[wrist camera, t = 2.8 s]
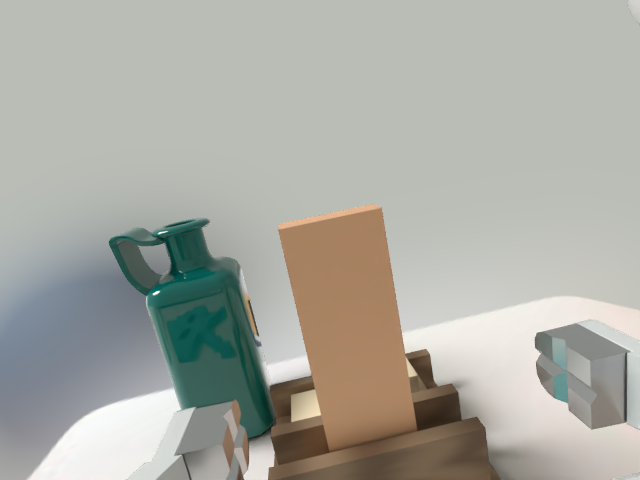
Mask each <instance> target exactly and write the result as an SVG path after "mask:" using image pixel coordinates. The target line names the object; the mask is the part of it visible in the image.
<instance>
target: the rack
mask: <svg viewBox="0 0 640 480" xmlns="http://www.w3.org/2000/svg"><path fill="white" fill-rule="evenodd" d="M405 356H406V358H407V359H408V361H409V363H410V364H411V366H413V368H414V369H415V371H416V372H417V374H418V376H419V377H420V379H421V380H422V382H423V383H424V385H425V387H426V388H427V390H423V391H419V392H415V393H411V394H412V400H413V406H414V413H415V419H416V425H417V432H413V433H409V434H405V435H401V436H397V437H393V438H389V439H384V440H380V441H376V442H372V443H368V444H364V445H360V446H356V447H352V448H348V449H344V450H340V451H336V452H332V453H330V452H329V447H328V443H327V439H326V434H325V430H324V426H323V421H322V417H321V415H319V416H315V417H311V418H307V419H303V420H298V421H294V422H291V395H293V394H297V393H302V392H306V391H310V390H314V389H315V387H314V382H313V378H312V376H309V377H304V378H300V379H296V380H292V381H287V382H283V383H279V384H275V385H270V391H269V392H270V396H271V400H272V404H273V407H274V411H275V415H276V426H273V427H271V440H272V443H273V447H274V451H275V460H274V467H270V468H269V475H268V480H501V479H500V477H499V476H498V474H497V473H496V471H495V470H494V468H493V467H492V465H491V464H490V463H489V459H488V449H487V440H486V431H485V427H484V426H483V424H482V423H481V422H480V420H479V419H478V418H477V417H474V418H470V419H466V420H461V412H460V404H459V396H458V391H457V390H456V389H455V387H454V386H453V385H452V384H448V385H444V386H440V387H438V386H437V385H436V384H435V382H434V380H433V373H432V366H431V359H430V354H429V353H428V351H427V350H426V349H424V350H420V351H415V352H411V353H407V354H405Z"/></svg>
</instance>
